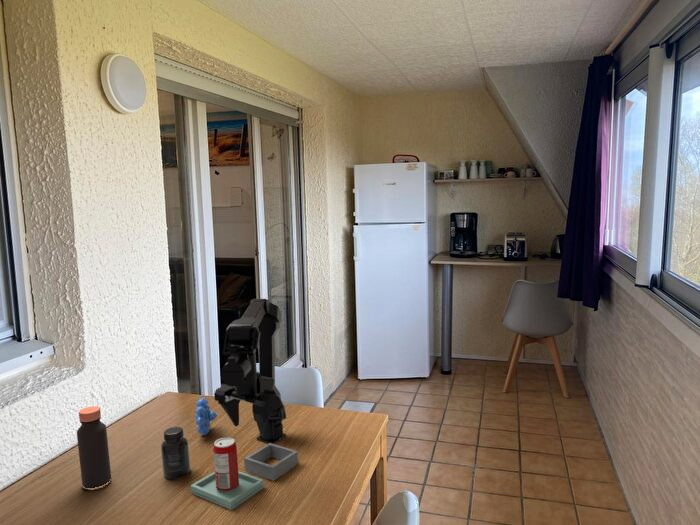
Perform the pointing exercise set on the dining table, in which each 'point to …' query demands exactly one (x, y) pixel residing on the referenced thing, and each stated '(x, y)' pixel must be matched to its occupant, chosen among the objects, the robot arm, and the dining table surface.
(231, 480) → the soda can
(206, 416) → the grapes
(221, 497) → the tray
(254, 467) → the frame
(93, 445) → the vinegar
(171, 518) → the dining table surface
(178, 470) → the supplement bottle
